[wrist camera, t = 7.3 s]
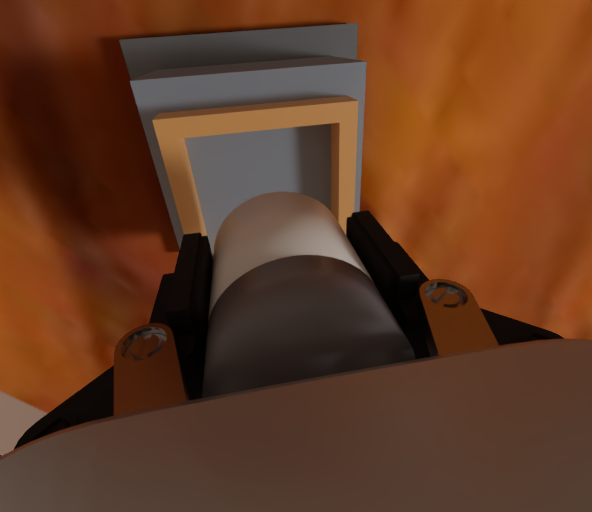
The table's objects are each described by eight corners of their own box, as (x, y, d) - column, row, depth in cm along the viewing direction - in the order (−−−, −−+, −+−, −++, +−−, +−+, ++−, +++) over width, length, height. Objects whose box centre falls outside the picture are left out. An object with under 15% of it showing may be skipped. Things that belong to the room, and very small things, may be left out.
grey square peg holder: (124, 39, 19) (58, 39, 11) (352, 23, 20) (419, 15, 13) (185, 253, 26) (168, 331, 19) (347, 231, 28) (387, 297, 20)
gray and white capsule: (200, 200, 11) (176, 334, 6) (344, 183, 11) (431, 294, 6) (226, 310, 14) (223, 467, 9) (341, 293, 14) (402, 431, 9)
